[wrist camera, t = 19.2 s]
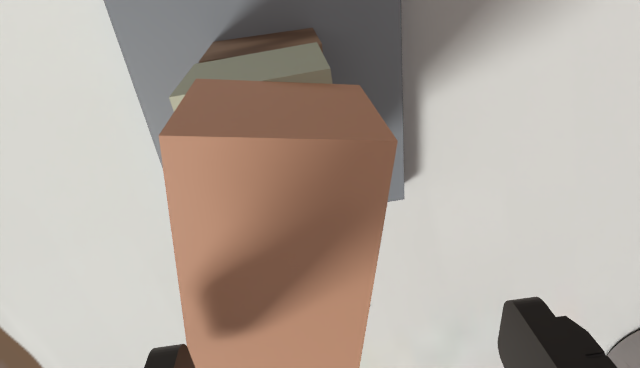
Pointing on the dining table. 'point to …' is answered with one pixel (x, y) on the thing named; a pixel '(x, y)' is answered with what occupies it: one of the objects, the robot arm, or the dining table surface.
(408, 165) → the dining table surface
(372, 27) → the baseplate
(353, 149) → the terracotta brick
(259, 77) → the sage brick
